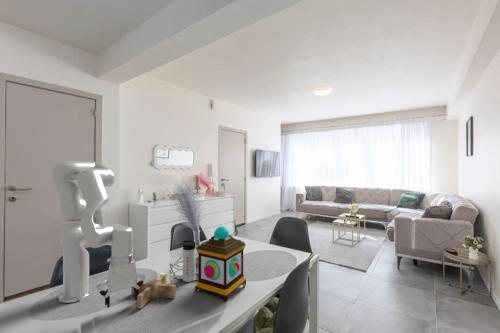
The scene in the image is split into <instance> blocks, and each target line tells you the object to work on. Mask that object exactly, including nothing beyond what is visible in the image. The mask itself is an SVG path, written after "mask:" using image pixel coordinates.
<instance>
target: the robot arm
mask: <svg viewBox="0 0 500 333" xmlns="http://www.w3.org/2000/svg"><path fill="white" fill-rule="evenodd" d="M115 179H116V177H115V174H114V172H113V171H112V170H111V169H110V168H108V167H106V166H105V165H103V164H102V163H99V162H96V161H94V160H92V161H91V160H65V161H59V162H57V163H55V164H54V166H53V167H52V170H51V180H52V183H53V185H54V188H55V189H56V191H57V195H58V203H59V209H60V215H61V219H62V220H63V221H64V222H66V223H75V222H80V223H77V224H71V225H69V226H66V227H65V228H64V229H62V230H61V232H60V233H59V240H60V243H61V249H62V293H61V294H60V295H59V296H58V302H60V303H64V304H70V303H76V302H77V303H78V302H80V300H81V299H84V298H86V297H88V296H89V295H90V289H91V288H92V286H90V252H89V251H88V249H86V248H85V245H87V246H88V247H90V248H92V249H97V248H101V247H104V246H106V245H111V255H110V257H109V258H107V260H106V262H107V263H109V264H108V265H109V267H108V272H107V279H105V280H104V281H102V282H101V283H100V284H98V285H97V286H96V291H97V292H98V293H99V294H100V295H101V296H102V297H104V305H105V306H106V307H107V308H108V309H109V308H110V307H111V298H110V295H111V294H112V293H115V292H118V291H125V290H127V289H131V288H132V287H134V294H133V298H134V300H135V301H136V300H137V301H138V295H139V288H140V286H141V285H142V284H143V282H145V279H146V275H145V274H142V273H139V272H138V271H137V270H138V269H137V263H136V260H135V258H134V230H133V228H132V227H131V226H127V225H126V226H125V225H122V224H120V223H112V224H107V225H105V217H104V212H103V207H104V206H105V205H107V204H108V203H109V201H110V198H109V195H108V192H107V190H106V188H108V187H111V186H113V185H114V183H115V181H116V180H115ZM74 180H75V181H76V180H77V182H78V184H77V183H76V182H74ZM138 278H140V279H139V282H138V283H137V281H138ZM105 286H107V289H106V290H104V289H103V288H104V287H105Z"/></svg>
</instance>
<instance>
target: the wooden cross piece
mask: <svg viewBox="0 0 500 333" xmlns="http://www.w3.org/2000/svg"><path fill="white" fill-rule="evenodd" d="M167 277H168V276H167V273H163V275H161V276H160V275H159V277H157V278H156V279H151V280H148V281H144V282H143V284H142V285H141V286H140V288H139V295H138V296H137V309H143V308H144V307H145V306H146V305H147V304H148V303H149V302H150V301H154V300H158V299H159V298H166V299H175V298H176V296H177V290H176V289H177V286H176V284H173V285H172V284H170V283H167V282H168V281H167ZM139 281H140V280H139ZM139 281H138V280H137V283H138V282H139ZM130 290H131V291H130V292H131V293H130V294H131V295H134V287H132V288H130Z"/></svg>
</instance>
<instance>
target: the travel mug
mask: <svg viewBox="0 0 500 333" xmlns="http://www.w3.org/2000/svg"><path fill="white" fill-rule="evenodd" d="M196 248H197V247H196V241H194V240H190V239H189V240H188V239H185V240H183V241H182V281H183V282H186V283H189V282H193V281H195V280H196V273H197V272H196V271H197V270H196V267H197V266H196V261H197V260H196V255H197V254H196V253H197V250H196Z"/></svg>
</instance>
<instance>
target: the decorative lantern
mask: <svg viewBox="0 0 500 333" xmlns="http://www.w3.org/2000/svg"><path fill="white" fill-rule="evenodd" d="M245 247H246V243H245V242H244V241H242V240H241V239H236V238H234V237H233V235H231V234H230V232H229V229H228V228H227V227H225V226H223V225H220V226H218V227H217V228H216V229H215V230H214V233H213V236H211V237H210V238H209V239H208V240H206V241H204V242H201V243H200V245H198V246H197V247H196V253H197V255H198V256H197V257H198V260H197V261H198V264H197V265H198V266H197V267H198V268H197V269H198V273H197V274H198V280H197V281H196V284H195V286H194V291H195V292H199V291H200V290H202V291H204V292H208V293H212V294H214V295H219V296H221V297H223V300H224V302H228V301H229V300H228V299H229V296H230V295H231V294H232V293H234V292H235V291H236V290H237V289H238V288H239V287H240V286H242V287H246V286H247V279H246V277H245V274H244V249H245Z"/></svg>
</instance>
